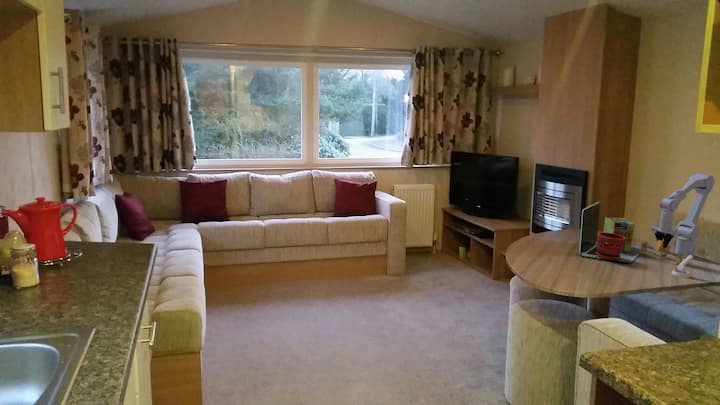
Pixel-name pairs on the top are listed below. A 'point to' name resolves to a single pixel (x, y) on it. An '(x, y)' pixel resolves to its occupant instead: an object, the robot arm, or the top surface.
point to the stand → (658, 256)
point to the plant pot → (610, 245)
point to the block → (661, 247)
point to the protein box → (620, 229)
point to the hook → (682, 268)
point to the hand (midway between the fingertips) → (662, 247)
